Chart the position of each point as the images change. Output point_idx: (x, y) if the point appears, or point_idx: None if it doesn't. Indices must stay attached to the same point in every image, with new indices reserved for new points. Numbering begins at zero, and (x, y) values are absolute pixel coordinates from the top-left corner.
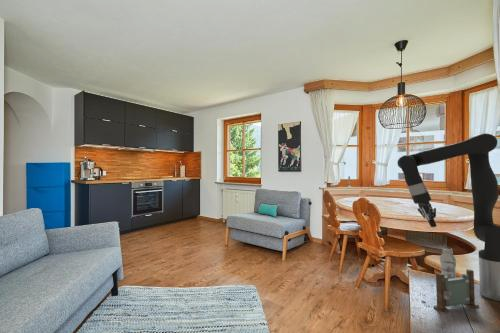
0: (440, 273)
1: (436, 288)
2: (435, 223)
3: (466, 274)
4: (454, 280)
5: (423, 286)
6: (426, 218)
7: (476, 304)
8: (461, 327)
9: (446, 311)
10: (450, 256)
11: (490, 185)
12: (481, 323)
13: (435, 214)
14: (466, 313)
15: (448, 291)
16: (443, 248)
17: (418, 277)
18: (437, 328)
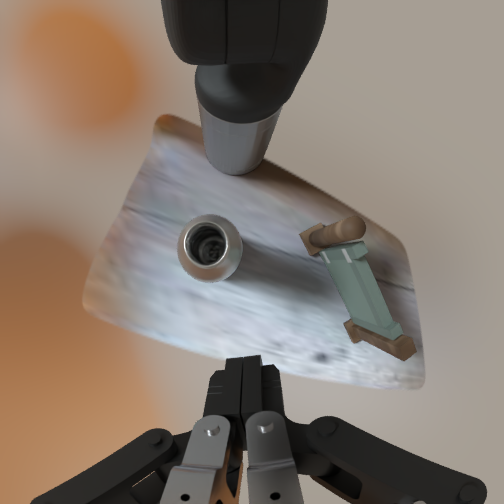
0: (405, 347)
1: (379, 348)
2: (279, 378)
3: (359, 245)
4: (383, 298)
5: (211, 326)
6: (234, 470)
7: (320, 227)
8: (415, 309)
9: None
10: (232, 243)
11: None
12: (393, 260)
13: (383, 445)
14: None
15: None
16: (208, 267)
17: (135, 314)
18: (423, 354)
